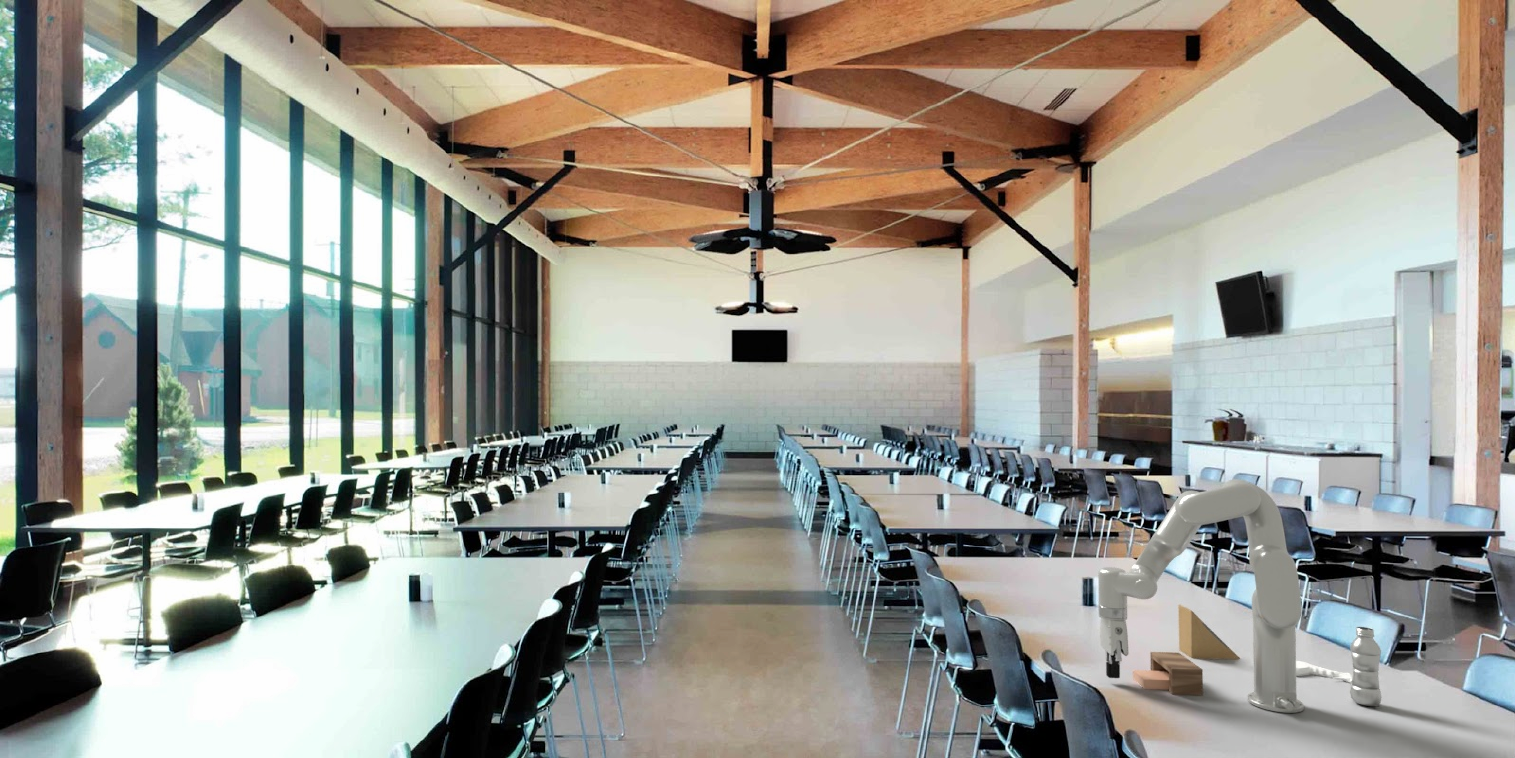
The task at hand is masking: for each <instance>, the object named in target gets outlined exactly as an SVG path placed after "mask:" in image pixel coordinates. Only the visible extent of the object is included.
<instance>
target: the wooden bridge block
mask: <svg viewBox="0 0 1515 758" xmlns="http://www.w3.org/2000/svg"><path fill="white" fill-rule="evenodd" d="M1150 671H1169V689H1168V690H1169V693H1170V694H1171V695H1175V696H1177V695H1179V696H1181V695H1182V696H1203V695H1204V686H1203V683H1204V681H1203V679H1204V675H1203V669H1202V668H1201V667H1200V666H1198V665H1197V664H1196V663H1194V662H1193V661H1191V659H1188V658H1187V657H1185V656H1184V655H1183V654H1181V653H1180V652H1170V651H1169V652H1167V651H1166V652H1163V651H1162V652H1161V651H1150Z"/></svg>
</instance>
